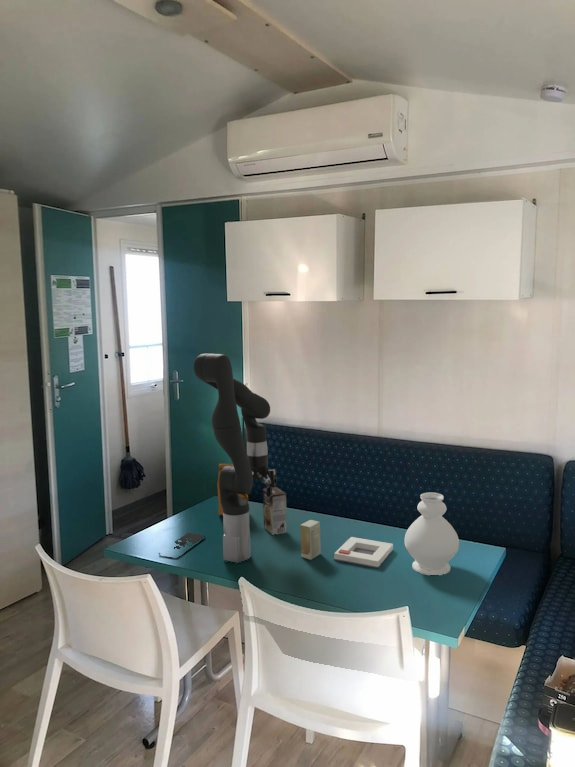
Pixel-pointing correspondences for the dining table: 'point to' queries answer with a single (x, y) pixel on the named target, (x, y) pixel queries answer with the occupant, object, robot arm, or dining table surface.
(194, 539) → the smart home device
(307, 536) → the skincare box
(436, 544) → the decorative vase
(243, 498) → the coffee package
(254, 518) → the dining table surface
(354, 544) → the socket plate
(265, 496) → the coffee box
